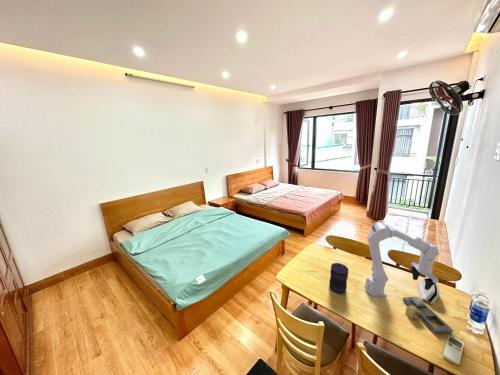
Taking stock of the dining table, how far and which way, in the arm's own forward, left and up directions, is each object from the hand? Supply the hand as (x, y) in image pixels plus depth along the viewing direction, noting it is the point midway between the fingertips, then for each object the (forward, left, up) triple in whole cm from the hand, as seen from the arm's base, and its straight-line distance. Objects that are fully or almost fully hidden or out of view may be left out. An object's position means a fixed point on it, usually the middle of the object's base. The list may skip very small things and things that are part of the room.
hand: (420, 284), depth 112 cm
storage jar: (-42, +11, -10) cm, 45 cm away
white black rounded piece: (+8, +3, -10) cm, 13 cm away
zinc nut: (-6, -6, -10) cm, 13 cm away
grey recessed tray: (-6, -11, -10) cm, 16 cm away
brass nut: (-13, -11, -10) cm, 20 cm away
